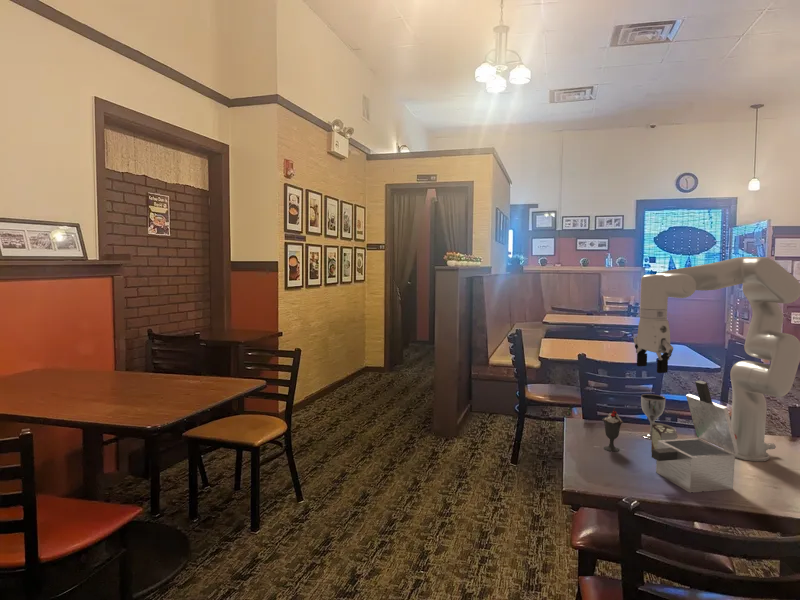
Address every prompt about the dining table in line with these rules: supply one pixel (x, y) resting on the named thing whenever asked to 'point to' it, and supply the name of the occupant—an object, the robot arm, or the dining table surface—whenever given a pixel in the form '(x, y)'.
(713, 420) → the lid
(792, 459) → the dining table surface
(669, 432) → the food container
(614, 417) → the sundae
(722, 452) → the white hinged box
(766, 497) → the dining table surface
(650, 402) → the wine glass
